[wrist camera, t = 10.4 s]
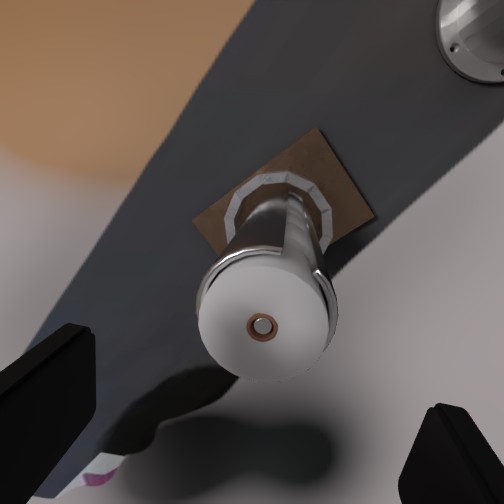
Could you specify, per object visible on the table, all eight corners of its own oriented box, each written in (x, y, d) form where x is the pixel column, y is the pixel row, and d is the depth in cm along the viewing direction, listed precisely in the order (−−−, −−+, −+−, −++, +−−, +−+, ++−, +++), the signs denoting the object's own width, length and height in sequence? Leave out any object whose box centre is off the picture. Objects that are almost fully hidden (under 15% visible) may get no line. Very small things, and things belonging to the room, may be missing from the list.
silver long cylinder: (319, 227, 37) (370, 356, 13) (272, 253, 38) (239, 410, 14) (292, 179, 35) (292, 221, 12) (244, 208, 37) (158, 297, 13)
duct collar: (315, 127, 35) (320, 120, 29) (371, 214, 37) (387, 225, 31) (195, 218, 40) (177, 229, 33) (250, 290, 42) (243, 313, 35)
